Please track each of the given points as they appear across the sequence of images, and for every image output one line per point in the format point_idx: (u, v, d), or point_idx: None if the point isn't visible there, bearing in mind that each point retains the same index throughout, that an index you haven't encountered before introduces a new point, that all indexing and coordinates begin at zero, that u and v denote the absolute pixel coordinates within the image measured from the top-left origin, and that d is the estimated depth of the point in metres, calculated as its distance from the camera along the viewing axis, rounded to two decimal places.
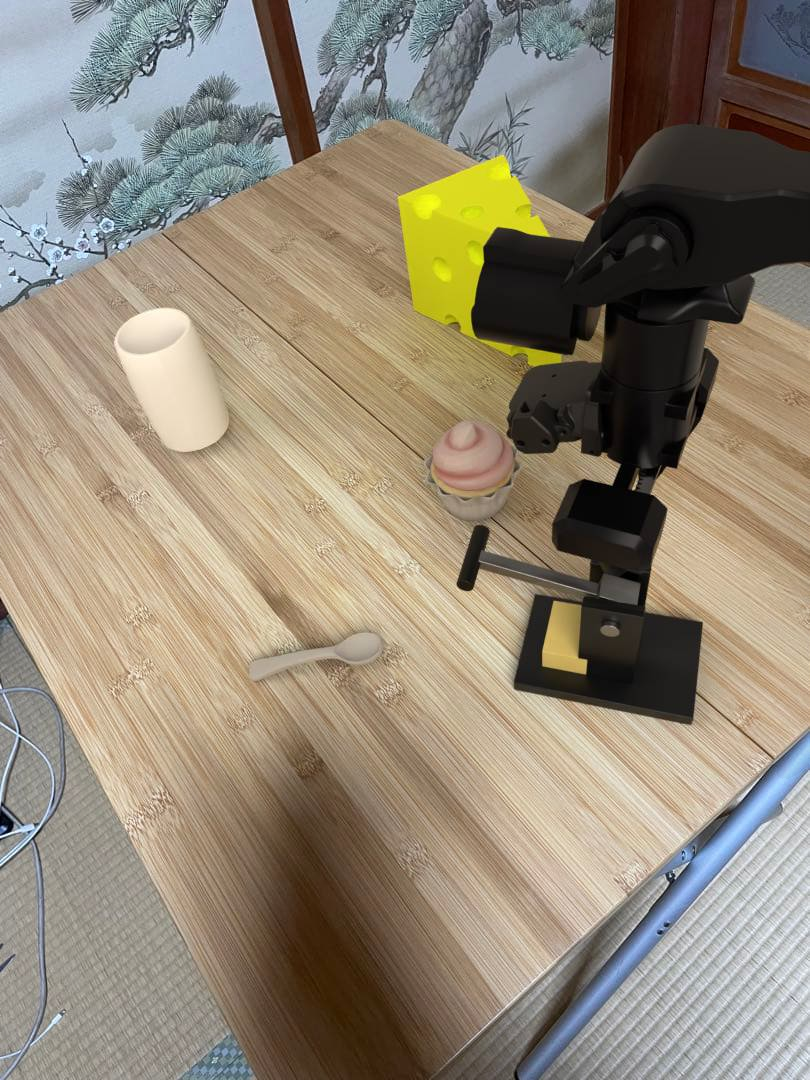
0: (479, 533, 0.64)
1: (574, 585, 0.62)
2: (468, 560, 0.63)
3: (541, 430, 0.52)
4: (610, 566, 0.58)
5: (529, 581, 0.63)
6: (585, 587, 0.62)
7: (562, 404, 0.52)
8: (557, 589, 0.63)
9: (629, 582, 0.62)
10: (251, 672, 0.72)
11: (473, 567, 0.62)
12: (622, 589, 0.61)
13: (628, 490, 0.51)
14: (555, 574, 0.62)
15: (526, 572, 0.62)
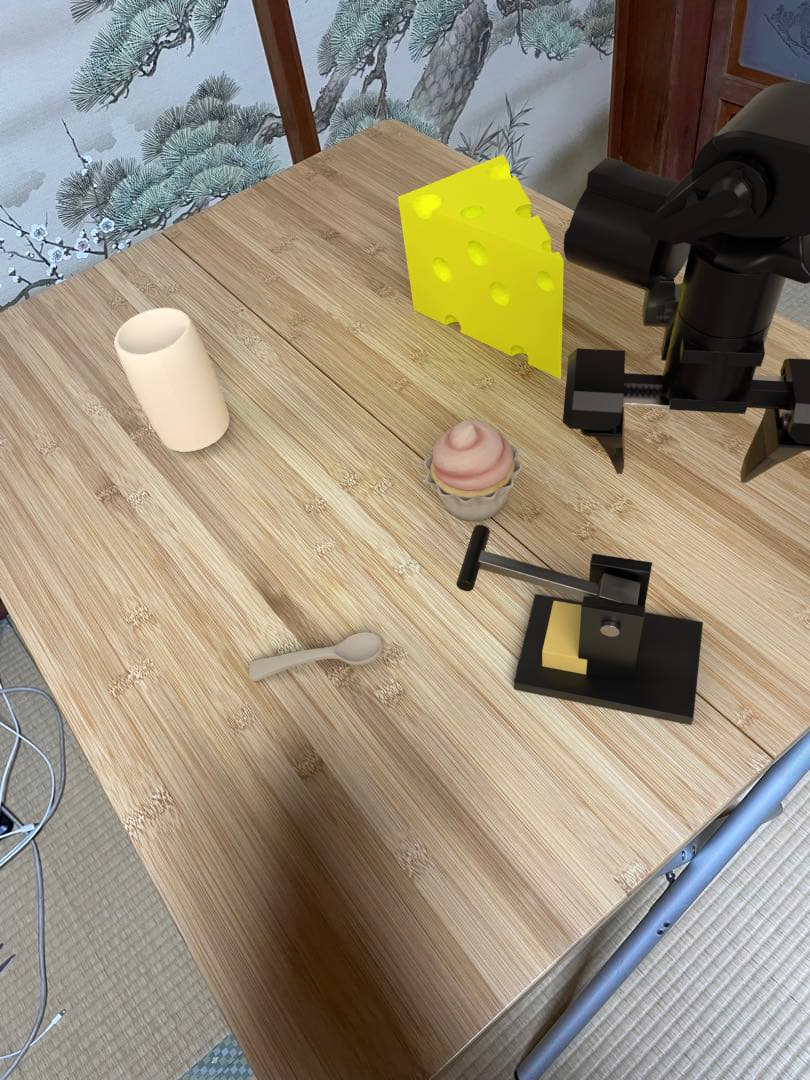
0: (479, 533, 0.64)
1: (574, 585, 0.62)
2: (468, 560, 0.63)
3: (647, 298, 0.59)
4: None
5: (529, 581, 0.63)
6: (585, 587, 0.62)
7: None
8: (557, 589, 0.63)
9: (629, 582, 0.62)
10: (251, 672, 0.72)
11: (473, 567, 0.62)
12: (622, 589, 0.61)
13: (622, 378, 0.57)
14: (555, 574, 0.62)
15: (526, 572, 0.62)
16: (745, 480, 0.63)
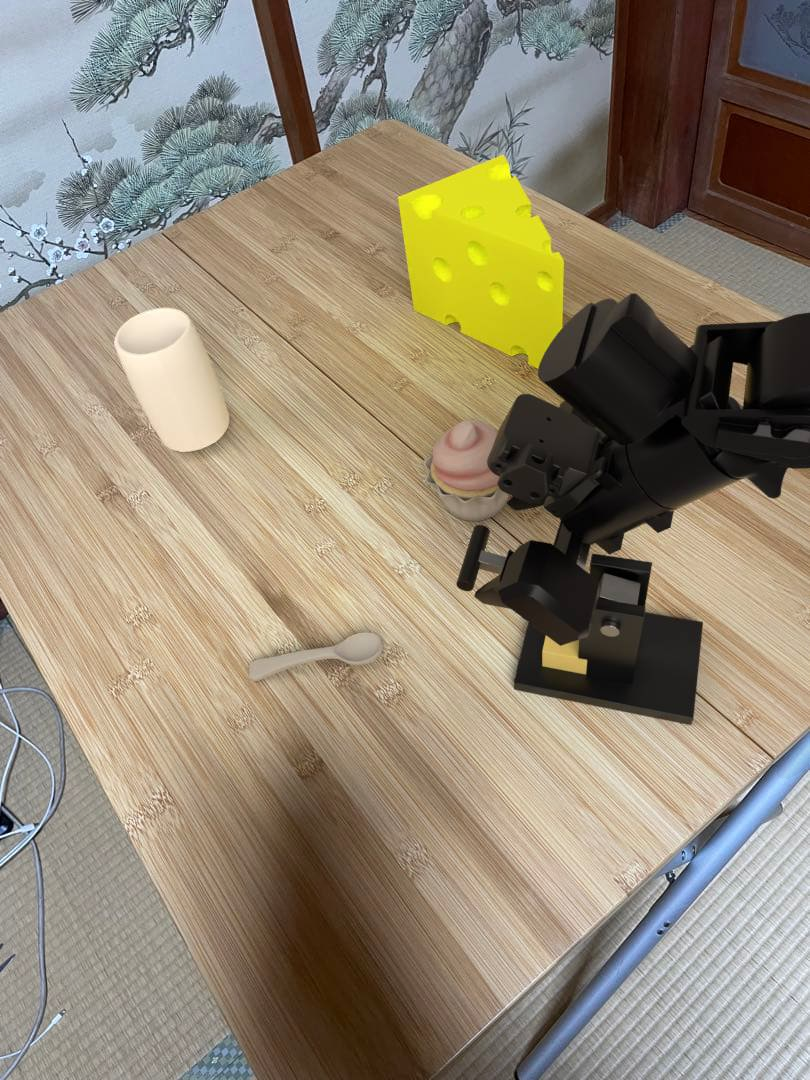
0: (479, 533, 0.64)
1: None
2: (468, 560, 0.63)
3: (541, 486, 0.50)
4: (491, 599, 0.59)
5: None
6: None
7: (562, 464, 0.51)
8: None
9: (629, 582, 0.62)
10: (251, 672, 0.72)
11: (473, 567, 0.62)
12: (622, 589, 0.61)
13: (582, 570, 0.52)
14: None
15: None
16: None
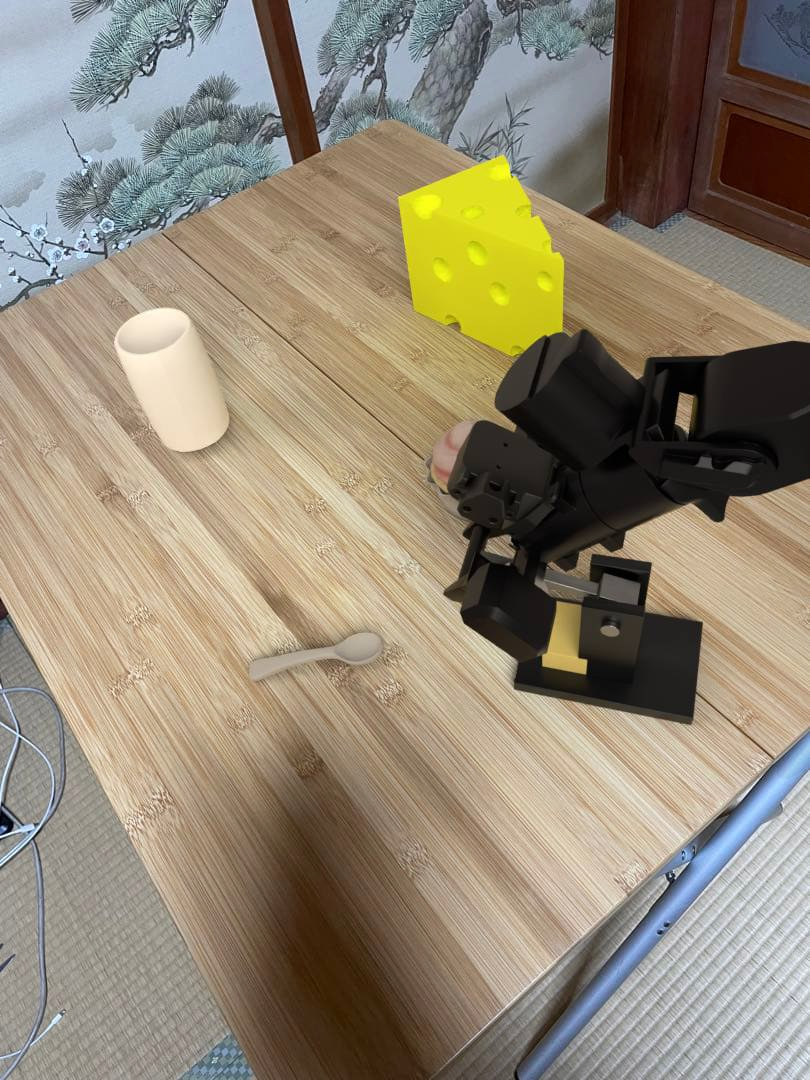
0: (479, 533, 0.64)
1: (574, 585, 0.62)
2: (468, 560, 0.63)
3: (499, 512, 0.52)
4: (459, 596, 0.62)
5: None
6: (585, 587, 0.62)
7: (518, 489, 0.53)
8: (557, 589, 0.63)
9: (629, 582, 0.62)
10: (251, 672, 0.72)
11: None
12: (622, 589, 0.61)
13: (540, 589, 0.55)
14: (555, 574, 0.62)
15: None
16: None
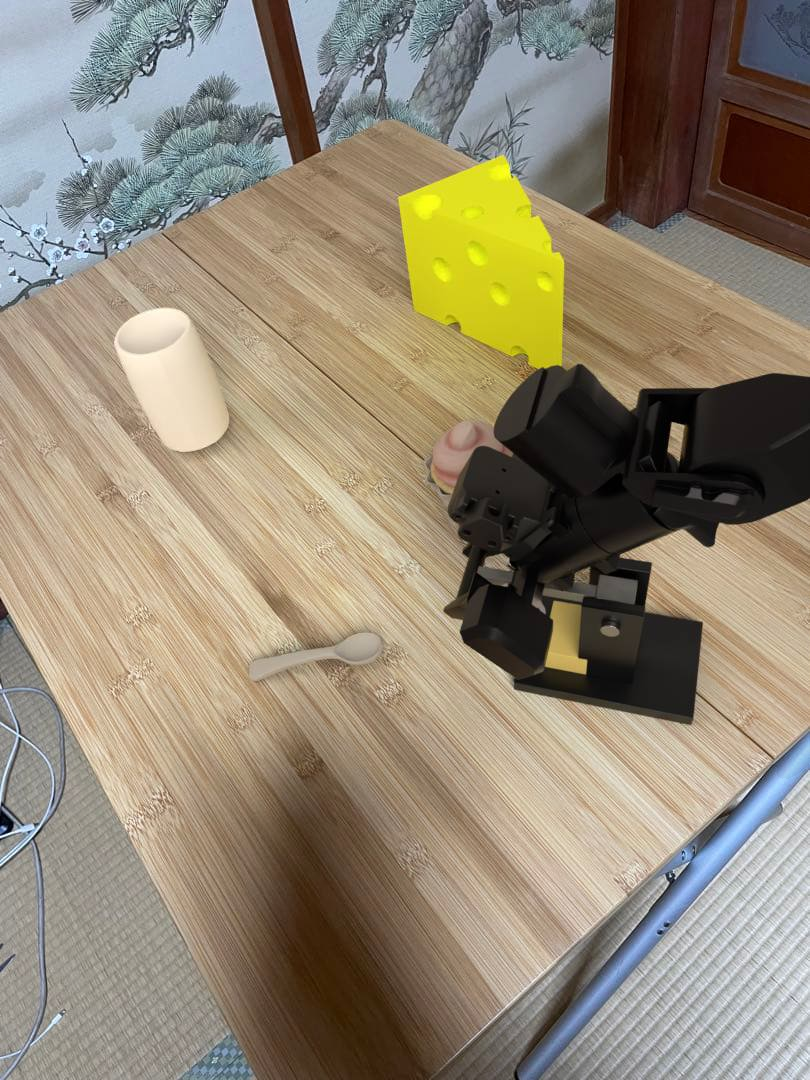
0: (476, 550, 0.66)
1: (571, 590, 0.63)
2: (465, 577, 0.64)
3: (498, 536, 0.54)
4: (458, 614, 0.64)
5: None
6: (583, 590, 0.62)
7: (516, 514, 0.55)
8: (556, 595, 0.63)
9: (626, 581, 0.62)
10: (251, 672, 0.72)
11: None
12: (619, 588, 0.61)
13: (537, 609, 0.56)
14: None
15: None
16: None
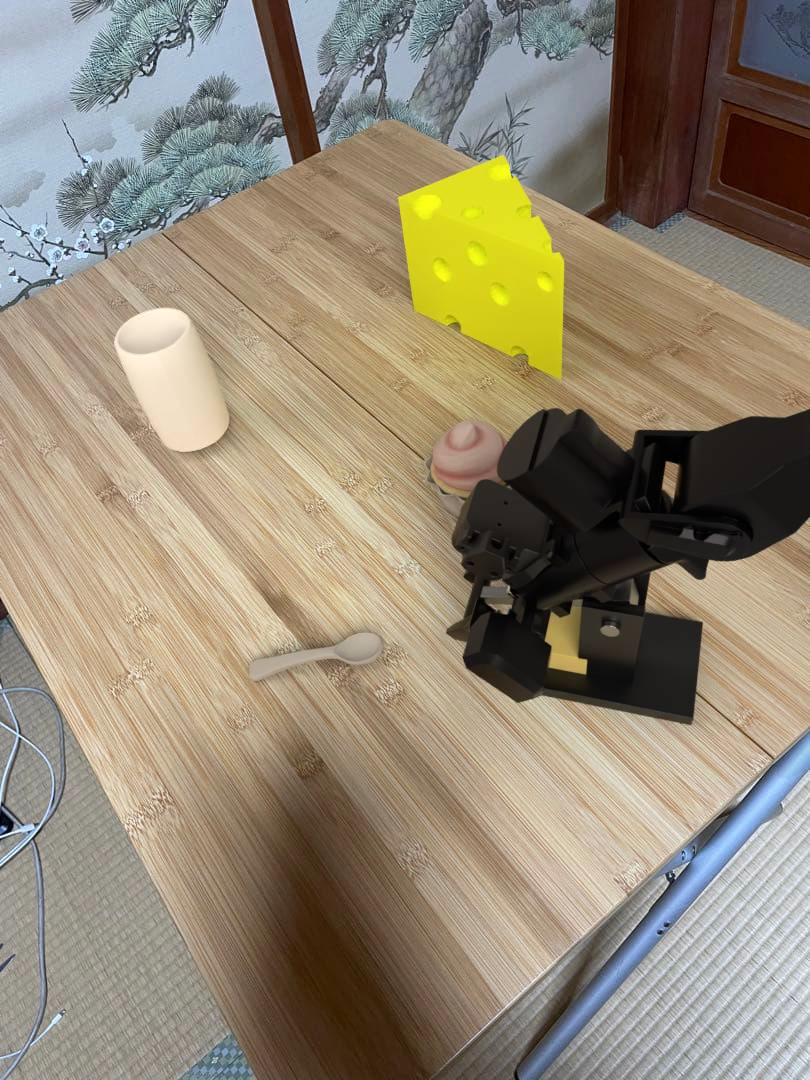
0: None
1: None
2: (470, 598, 0.67)
3: (500, 567, 0.56)
4: (461, 636, 0.66)
5: None
6: None
7: (517, 545, 0.57)
8: None
9: None
10: (251, 672, 0.72)
11: None
12: None
13: (536, 636, 0.59)
14: None
15: None
16: None
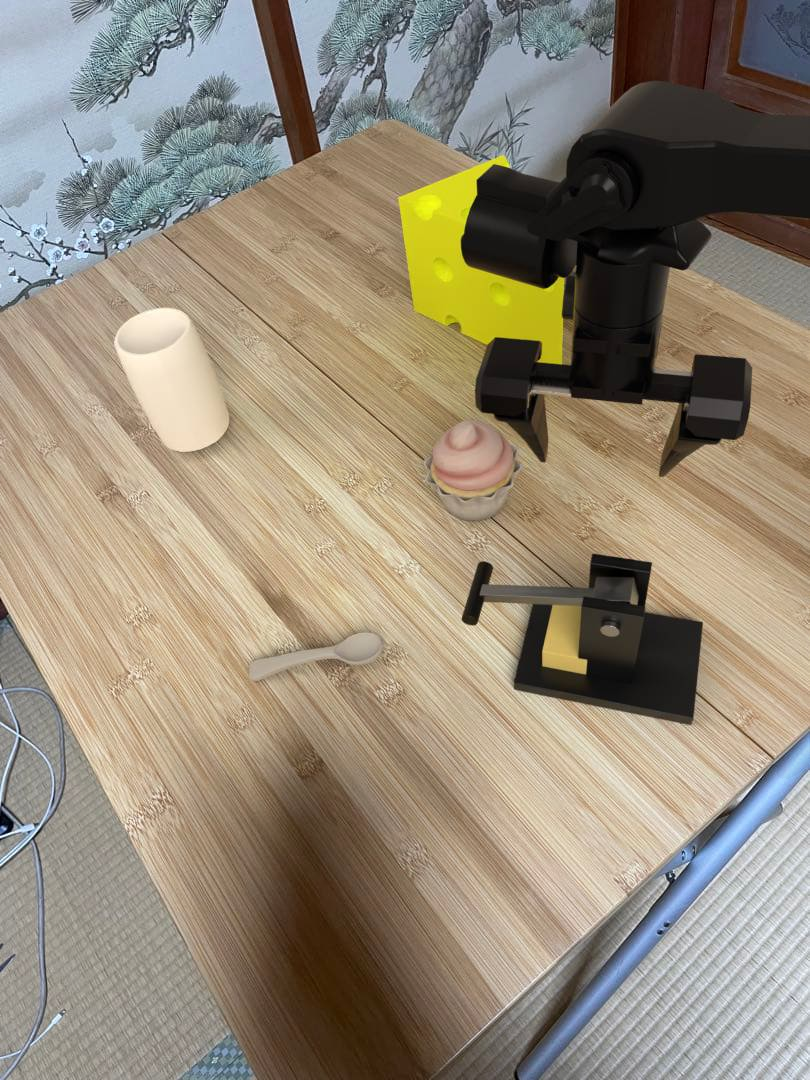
0: (480, 569, 0.68)
1: (571, 595, 0.63)
2: (469, 596, 0.66)
3: None
4: None
5: (531, 602, 0.65)
6: (582, 594, 0.63)
7: None
8: (558, 603, 0.64)
9: (622, 579, 0.62)
10: (251, 672, 0.72)
11: (474, 601, 0.66)
12: (615, 588, 0.61)
13: (531, 366, 0.60)
14: (552, 589, 0.64)
15: (524, 594, 0.65)
16: (661, 474, 0.64)
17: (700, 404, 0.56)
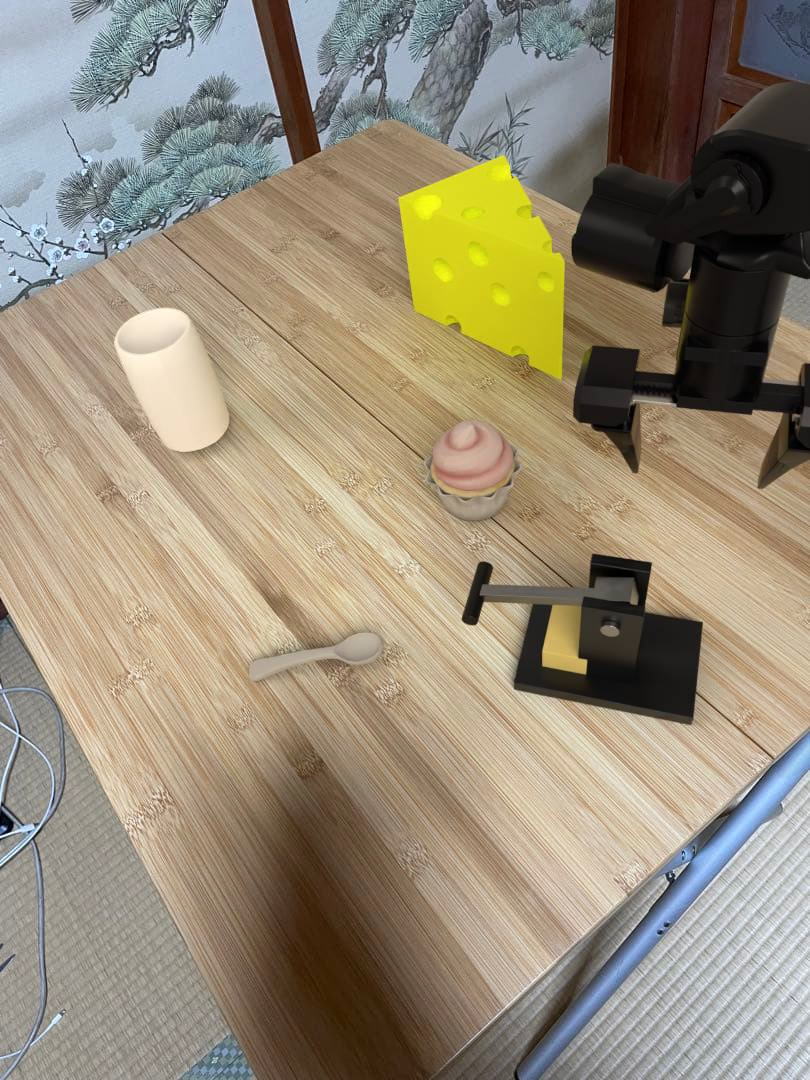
0: (480, 569, 0.68)
1: (571, 595, 0.63)
2: (469, 596, 0.66)
3: None
4: None
5: (531, 602, 0.65)
6: (582, 594, 0.63)
7: None
8: (558, 603, 0.64)
9: (622, 579, 0.62)
10: (251, 672, 0.72)
11: (474, 601, 0.66)
12: (615, 588, 0.61)
13: (633, 375, 0.58)
14: (552, 589, 0.64)
15: (524, 594, 0.65)
16: (761, 486, 0.62)
17: None
